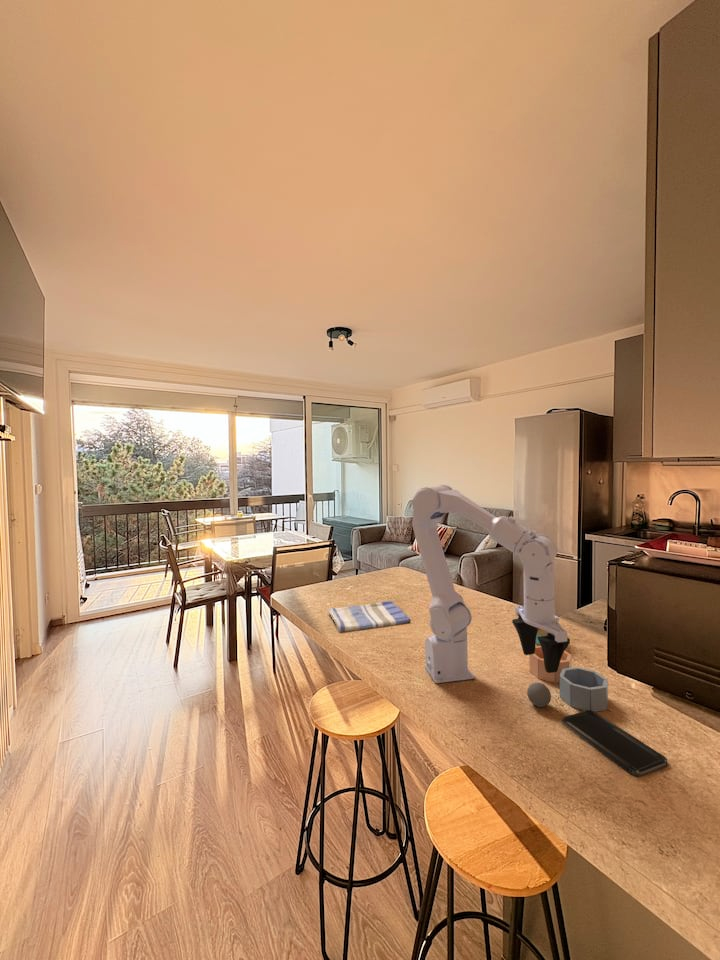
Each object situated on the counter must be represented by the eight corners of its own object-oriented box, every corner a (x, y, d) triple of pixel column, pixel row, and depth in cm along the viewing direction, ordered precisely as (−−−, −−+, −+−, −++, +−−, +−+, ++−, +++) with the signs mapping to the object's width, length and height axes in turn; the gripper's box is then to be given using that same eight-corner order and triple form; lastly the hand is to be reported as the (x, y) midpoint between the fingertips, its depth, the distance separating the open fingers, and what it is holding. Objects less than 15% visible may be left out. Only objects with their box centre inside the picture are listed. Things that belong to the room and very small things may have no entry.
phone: (635, 774, 63) (559, 718, 78) (635, 781, 63) (559, 724, 78) (671, 760, 66) (591, 708, 80) (671, 767, 66) (591, 714, 80)
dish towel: (327, 614, 139) (326, 606, 139) (393, 606, 144) (393, 598, 144) (336, 634, 122) (336, 625, 122) (411, 625, 128) (411, 616, 127)
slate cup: (579, 713, 80) (579, 691, 80) (552, 690, 88) (552, 669, 88) (617, 708, 81) (617, 686, 81) (587, 686, 89) (587, 665, 89)
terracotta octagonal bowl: (544, 684, 91) (544, 664, 90) (523, 666, 99) (523, 647, 99) (579, 679, 92) (579, 660, 92) (555, 662, 100) (555, 644, 100)
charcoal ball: (535, 713, 80) (535, 691, 80) (523, 700, 85) (522, 679, 85) (555, 710, 81) (555, 688, 81) (542, 697, 86) (542, 677, 85)
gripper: (581, 606, 77) (582, 677, 77) (535, 584, 91) (536, 645, 92) (547, 610, 76) (548, 682, 76) (506, 587, 90) (507, 648, 90)
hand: (539, 662), depth 84 cm, fingers open, 7 cm apart
